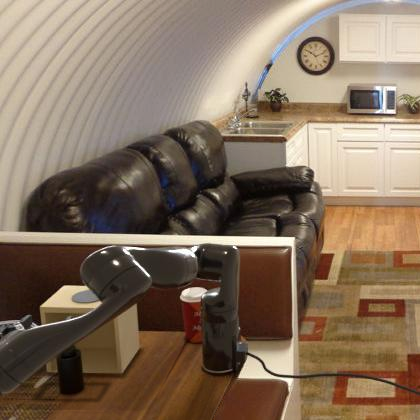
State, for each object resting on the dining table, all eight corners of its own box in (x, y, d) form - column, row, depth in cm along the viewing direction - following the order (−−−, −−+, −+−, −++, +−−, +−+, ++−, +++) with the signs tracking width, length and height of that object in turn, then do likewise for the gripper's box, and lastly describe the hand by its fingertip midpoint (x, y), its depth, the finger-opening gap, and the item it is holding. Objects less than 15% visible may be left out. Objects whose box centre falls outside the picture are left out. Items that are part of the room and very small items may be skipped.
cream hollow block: (139, 350, 170) (135, 286, 165) (122, 376, 158) (117, 307, 152) (70, 349, 169) (63, 284, 164) (47, 375, 156) (39, 306, 151)
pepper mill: (88, 384, 153) (84, 343, 150) (78, 396, 148) (74, 354, 145) (65, 384, 152) (61, 342, 149) (55, 396, 147) (51, 353, 144)
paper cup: (202, 346, 174) (200, 299, 170) (176, 342, 176) (174, 295, 172) (215, 333, 182) (214, 288, 178) (191, 329, 183) (189, 284, 179)
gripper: (47, 341, 119) (83, 304, 135) (-32, 339, 118) (14, 302, 134) (51, 376, 121) (87, 336, 137) (-27, 375, 120) (18, 334, 136)
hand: (51, 319), depth 135 cm, fingers open, 8 cm apart
